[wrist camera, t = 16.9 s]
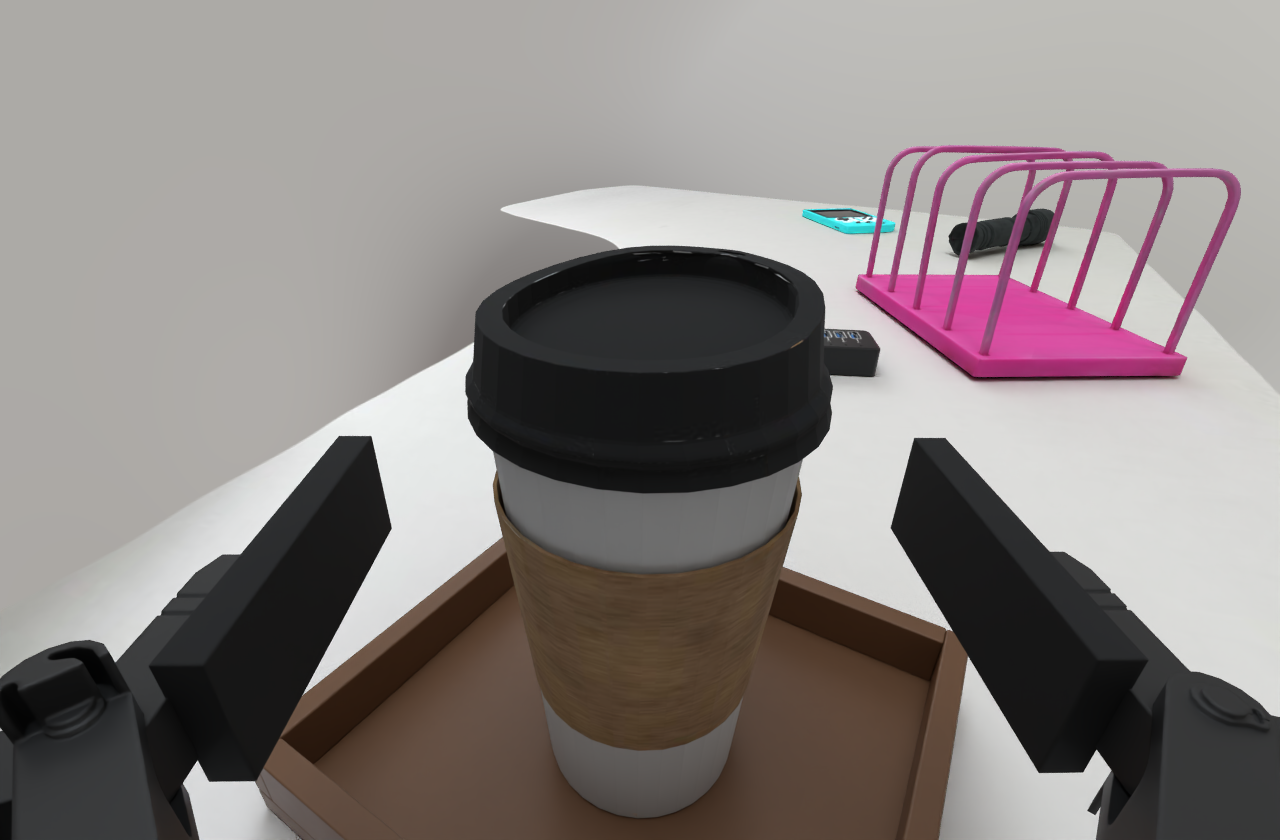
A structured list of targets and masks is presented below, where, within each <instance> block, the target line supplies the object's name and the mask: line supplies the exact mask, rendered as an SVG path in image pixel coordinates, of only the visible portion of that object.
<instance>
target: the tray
mask: <svg viewBox="0 0 1280 840" xmlns="http://www.w3.org/2000/svg"><path fill="white" fill-rule="evenodd" d="M967 659H968V655H967V653H966V652H965V650H964V648H963V647H962V645H961V643H960V642H959V640H958V638H957V637H956V635H955V633H954V632H953V631H950V630H947V631H946V629H945V628H943V627H940V626H938V625H935V624H933V623H930V622H927V621H925V620H922V619H919V618H917V617H914V616H911V615H909V614H906V613H903V612H901V611H898V610H896V609H893V608H890V607H888V606H885V605H882V604H880V603H877V602H874V601H872V600H869V599H866V598H864V597H861V596H859V595H856V594H853V593H851V592H848V591H845V590H843V589H840V588H837V587H835V586H832V585H829V584H827V583H824V582H822V581H819V580H816V579H814V578H811V577H808V576H806V575H803V574H800V573H798V572H795V571H792V570H790V569H787V568H784V567H782V570H781V573H780V577H779V580H778V584H777V587H776V591H775V594H774V597H773V601H772V604H771V608H770V611H769V614H768V618H767V621H766V625H765V628H764V631H763V635H762V638H761V642H760V645H759V648H758V652H757V655H756V659H755V662H754V666H753V669H752V672H751V676H750V679H749V683H748V686H747V689H746V691H745V693H744V695H743V699H742V703H741V707H740V711H739V715H738V719H737V723H736V727H735V731H734V735H733V739H732V743H731V747H730V750H729V754H728V758H727V761H726V763H725V765H724V767H723V769H722V772H721V774H720V776H719V778H718V779H717V780H716V782H715V783H714V784H713V785H712V787H711V788H710V789H709V790H708V792H706V793H705V794H704V795H703V796H701V797H700V798H699V799H698V800H696V801H695V802H694V803H693V804H691V805H689V806H687V807H685V808H683V809H681V810H679V811H677V812H674V813H671V814H667V815H663V816H659V817H651V818H633V817H626V816H620V815H616V814H613V813H611V812H608V811H605V810H603V809H600V808H598V807H597V806H595V805H593V804H592V803H590V802H589V801H587V800H586V799H584V798H583V797H582V796H581V795H580V794H579V793H578V792H577V791H576V790H575V789H574V788H573V787H572V786H571V785H570V784H569V783H568V781H567V780H566V778H565V777H564V775H563V773H562V772H561V770H560V768H559V765H558V763H557V760H556V758H555V755H554V752H553V748H552V743H551V739H550V734H549V729H548V724H547V719H546V714H545V708H544V703H543V698H542V693H541V688H540V686H539V683H538V681H537V677H536V673H535V669H534V664H533V660H532V656H531V652H530V648H529V644H528V639H527V635H526V631H525V627H524V623H523V618H522V614H521V610H520V606H519V602H518V598H517V593H516V589H515V585H514V581H513V577H512V573H511V568H510V564H509V560H508V556H507V552H506V548H505V543H504V539H503V537H502V538H501V539H500V540H499V541H497V542H496V543H495V544H493V545H492V546H491V547H490V548H488V549H487V550H486V551H485V552H483V553H482V554H481V555H480V556H478V557H477V558H476V559H475V560H473V561H472V562H471V563H469V564H468V565H467V566H466V567H464V568H463V569H462V570H461V571H459V572H458V573H457V574H456V575H454V576H453V577H452V578H451V579H449V580H448V581H447V582H445V583H444V584H443V585H442V586H440V587H439V588H438V589H437V590H435V591H434V592H433V593H432V594H430V595H429V596H428V597H426V598H425V599H424V600H423V601H421V602H420V603H419V604H418V605H416V606H415V607H414V608H413V609H411V610H410V611H409V612H408V613H406V614H405V615H404V616H402V617H401V618H400V619H399V620H397V621H396V622H395V623H394V624H392V625H391V626H390V627H389V628H387V629H386V630H385V631H384V632H382V633H381V634H380V635H378V636H377V637H376V638H375V639H373V640H372V641H371V642H370V643H368V644H367V645H366V646H365V647H363V648H362V649H361V650H360V651H358V652H357V653H356V654H354V655H353V656H352V657H351V658H349V659H348V660H347V661H346V662H344V663H343V664H342V665H341V666H339V667H338V668H337V669H336V670H334V671H333V672H332V673H330V674H329V675H328V676H327V677H325V678H324V679H323V680H322V681H320V682H319V683H318V684H317V685H315V686H314V687H313V688H312V689H310V690H309V691H308V692H306V693H305V694H304V695H303V696H302V697H301V699H300V701H299V702H298V704H297V706H296V708H295V710H294V712H293V714H292V715H291V717H290V719H289V721H288V723H287V725H286V727H285V729H284V730H283V732H282V734H281V736H280V738H279V740H278V742H277V744H276V745H275V747H274V749H273V751H272V753H271V755H270V757H269V758H268V760H267V762H266V764H265V766H264V768H263V770H262V772H261V773H260V775H259V777H258V779H257V781H255V782H256V784H257V786H258V788H259V790H260V793H261V795H262V797H263V799H264V801H265V803H266V806H267V807H268V808H269V809H270V810H271V811H272V812H273V813H274V814H276V815H277V816H278V817H279V818H280V819H281V820H282V821H283V822H284V823H285V824H286V825H288V826H289V827H290V828H291V829H292V830H293V831H294V832H295V833H296V834H297V835H298V836H299V837H301V838H302V839H303V840H938V839H939V833H940V827H941V821H942V814H943V808H944V802H945V796H946V789H947V783H948V777H949V771H950V765H951V758H952V752H953V746H954V740H955V733H956V727H957V721H958V715H959V709H960V702H961V696H962V690H963V684H964V677H965V671H966V665H967Z"/></svg>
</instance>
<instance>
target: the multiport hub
mask: <svg viewBox="0 0 1280 840" xmlns="http://www.w3.org/2000/svg"><path fill="white" fill-rule="evenodd" d="M879 353H880V347H879V346H878V345H877V343H876V342H875V340H874V339H873V337H872V336H871V334H870V333H869V332H867V331H860V330H838V329H824V364H825V366H826V367H827V369H828V372H829V374H834V375H853V376H874V375H875V372H876V367H877V362H878V357H879Z"/></svg>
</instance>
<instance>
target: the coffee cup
mask: <svg viewBox="0 0 1280 840" xmlns="http://www.w3.org/2000/svg"><path fill="white" fill-rule="evenodd" d="M475 317H476V318H475V337H474V358H473V363H472V365H471V367H470V369H469V370H468V372H467V374H466V390H465V392H466V395H467V397H468V401H467V403H468V419H469V421H470V423H471V425H472V427H473V429H474V431H475V433H476V435H477V436H478V437H479V438H480V439H481V440H482V441H483V442H484V443H485V444H486V445H487V446H488V447H489V448H490V449H491V450H492V451H493V453H494V458H495V463H496V468H497V471H496V474H495V478H494V482H493V491H494V502H495V506H496V510H497V514H498V518H499V522H500V527H501V531H502V535H503V539H504V543H505V548H506V552H507V556H508V560H509V564H510V568H511V573H512V577H513V581H514V585H515V589H516V593H517V598H518V602H519V606H520V610H521V614H522V618H523V623H524V627H525V631H526V635H527V639H528V644H529V648H530V652H531V656H532V660H533V664H534V669H535V673H536V677H537V681H538V683H539V686H540V688H541V693H542V698H543V703H544V708H545V714H546V719H547V724H548V729H549V734H550V739H551V743H552V748H553V752H554V755H555V758H556V760H557V763H558V765H559V768H560V770H561V772H562V773H563V775H564V777H565V778H566V780H567V781H568V783H569V784H570V785H571V786H572V787H573V788H574V789H575V790H576V791H577V792H578V793H579V794H580V795H581V796H582V797H583V798H584V799H586V800H587V801H589V802H590V803H592V804H593V805H595V806H597V807H598V808H600V809H603V810H605V811H608V812H611V813H613V814H616V815H620V816H626V817H633V818H651V817H659V816H663V815H667V814H671V813H674V812H677V811H679V810H681V809H683V808H685V807H687V806H689V805H691V804H693V803H694V802H695V801H696V800H698V799H699V798H700V797H701V796H703V795H704V794H705V793H706V792H708V790H709V789H710V788H711V787H712V785H713V784H714V783H715V782H716V780H717V779H718V778H719V776H720V774H721V772H722V769H723V767H724V765H725V763H726V761H727V758H728V754H729V750H730V747H731V743H732V739H733V735H734V731H735V727H736V723H737V719H738V715H739V711H740V707H741V703H742V699H743V695H744V693H745V691H746V689H747V686H748V683H749V679H750V676H751V672H752V669H753V666H754V662H755V659H756V655H757V652H758V648H759V645H760V642H761V638H762V635H763V631H764V628H765V625H766V621H767V618H768V614H769V611H770V608H771V604H772V601H773V597H774V594H775V591H776V587H777V584H778V580H779V577H780V573H781V570H782V567H783V563H784V560H785V556H786V553H787V550H788V546H789V543H790V539H791V536H792V533H793V529H794V526H795V522H796V519H797V516H798V512H799V507H800V502H801V497H802V493H801V486H800V480H799V477H798V476H799V472H800V468H801V464H802V460H803V458H805V457H806V456H807V455H808V454H810V453H811V452H812V451H814V450H815V449H816V448H817V447H819V445H820V444H821V442H822V440H823V439H824V437H825V436H826V434H827V433H828V431H829V429H830V422H831V416H832V411H831V405H830V401H831V395H832V390H833V385H832V382H831V378H830V375H829V372H828V369H827V367H826V366H825V364H824V324H825V303H824V296H823V293H822V291H821V290H820V288H819V287H818V285H817V284H816V282H815V281H814V280H812V279H811V278H810V277H808V276H807V275H806V274H804V273H803V272H801V271H799V270H797V269H795V268H793V267H791V266H788V265H786V264H783V263H780V262H777V261H774V260H771V259H768V258H764V257H761V256H757V255H753V254H749V253H745V252H741V251H735V250H726V249H715V248H704V247H690V246H643V247H631V248H623V249H617V250H612V251H605V252H601V253H596V254H592V255H588V256H584V257H579V258H577V259H573V260H569V261H566V262H563V263H559V264H556V265H553V266H550V267H548V268H545V269H542V270H539V271H536V272H534V273H531V274H529V275H527V276H525V277H522V278H520V279H517V280H515V281H513V282H511V283H509V284H507V285H505V286H504V287H502V288H500V289H498V290H496V291H495V292H494V293H492V294H491V295H490V296H488V297H487V298H486V299H485V300H483V302H482V303H481V305H480V306H479V308H478V310H477V311H476V316H475Z"/></svg>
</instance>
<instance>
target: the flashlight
mask: <svg viewBox="0 0 1280 840" xmlns="http://www.w3.org/2000/svg"><path fill="white" fill-rule="evenodd" d="M1053 216H1054V213H1053V212H1052V211H1051V210H1047V209H1035V210H1029V212H1028V215H1027V218H1026V221H1025V224H1024V227H1023V231H1022V235H1021V238H1020V242H1019V245H1029V244H1035V243H1041V242H1043V241H1045V240H1046V238H1047V235H1048V232H1049V229H1050V226H1051V223H1052V219H1053ZM1016 217H1017V214H1016V215H1015V216H1013V217H1012V218H1009V217H1005V218H1000V219H992V220H985V221H980V222H977V224H976V228H975V232H974V236H973V240H972V244H971V248H970V252H969V253H971V252H974V251H975V250H983V249H986V248H991V247H996V246H1000V247H1002V246H1006V245H1008V243H1009V240H1010V237H1011V234H1012V230H1013V226H1014V223H1015V220H1016ZM967 224H968V223H961V224H958V225H956V226H955V227H954V228H953V230H952V231H951V233H950V235H949V243H950V245H951V247H952V249H953V251H954V253H956V254H958V255H960V253H961V249H962V245H963V240H964V236H965V232H966V228H967Z"/></svg>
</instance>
